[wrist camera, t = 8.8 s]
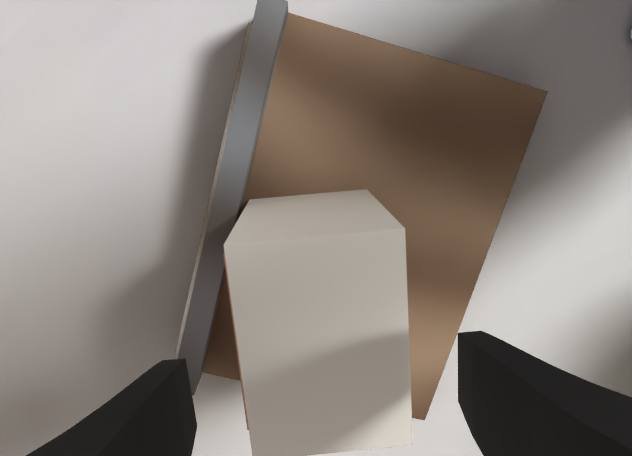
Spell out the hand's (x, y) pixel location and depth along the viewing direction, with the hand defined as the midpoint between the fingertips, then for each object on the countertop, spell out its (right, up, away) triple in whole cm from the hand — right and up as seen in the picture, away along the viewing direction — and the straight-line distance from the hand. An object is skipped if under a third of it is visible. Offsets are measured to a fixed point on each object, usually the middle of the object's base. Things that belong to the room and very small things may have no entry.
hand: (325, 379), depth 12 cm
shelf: (+1, +4, +9) cm, 10 cm away
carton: (0, +2, +8) cm, 8 cm away
